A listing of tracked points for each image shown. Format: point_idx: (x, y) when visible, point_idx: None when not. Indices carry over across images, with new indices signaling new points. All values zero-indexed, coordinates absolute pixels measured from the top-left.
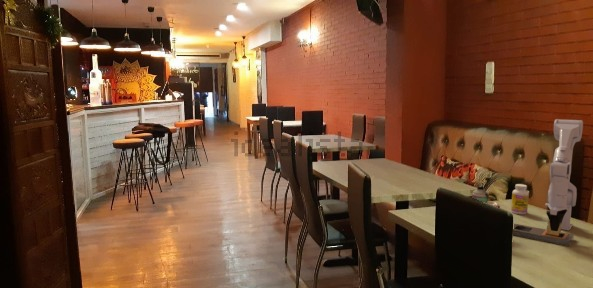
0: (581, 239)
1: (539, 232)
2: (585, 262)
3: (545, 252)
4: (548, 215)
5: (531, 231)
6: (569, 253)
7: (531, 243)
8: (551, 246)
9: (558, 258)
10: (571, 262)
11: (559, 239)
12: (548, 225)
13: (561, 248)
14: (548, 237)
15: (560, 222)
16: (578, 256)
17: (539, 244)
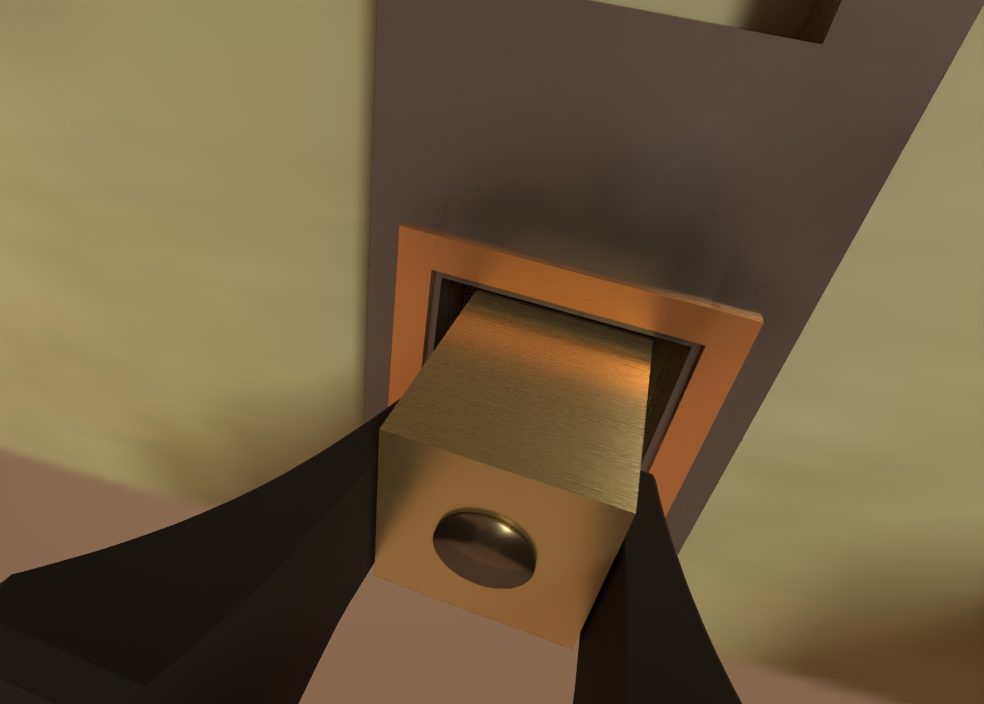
0: (703, 613)
1: (533, 193)
2: (101, 469)
3: (47, 218)
4: (52, 584)
5: (523, 30)
6: (195, 415)
7: (204, 52)
8: (269, 296)
9: (11, 313)
10: (20, 387)
11: (364, 418)
12: (406, 407)
13: (277, 380)
14: (371, 306)
15: (573, 636)
16: (180, 460)
17: (241, 165)
